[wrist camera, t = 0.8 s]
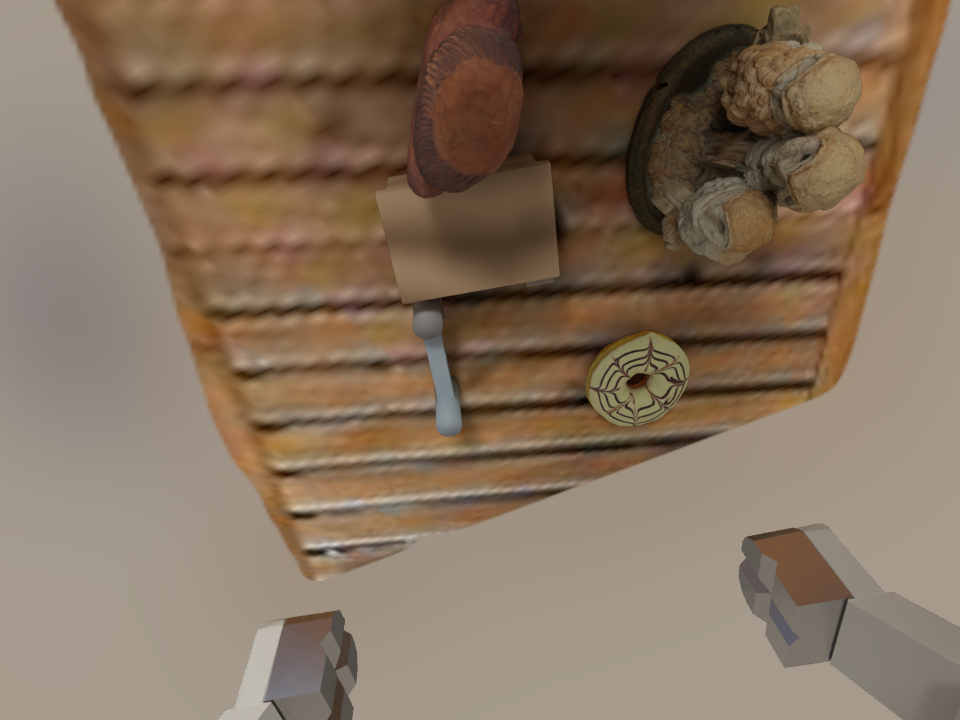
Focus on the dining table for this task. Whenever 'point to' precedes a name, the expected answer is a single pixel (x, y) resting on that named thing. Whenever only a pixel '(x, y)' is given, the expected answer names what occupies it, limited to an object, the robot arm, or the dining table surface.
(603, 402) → the decorated donut
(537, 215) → the tan boxy piece
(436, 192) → the wooden figurine
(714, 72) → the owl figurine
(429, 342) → the lever handle with knob
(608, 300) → the dining table surface
